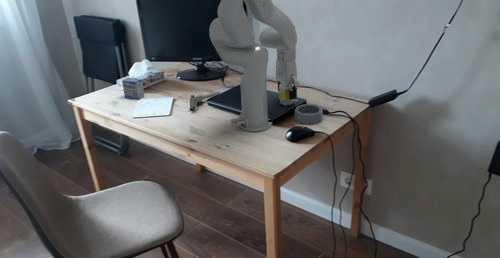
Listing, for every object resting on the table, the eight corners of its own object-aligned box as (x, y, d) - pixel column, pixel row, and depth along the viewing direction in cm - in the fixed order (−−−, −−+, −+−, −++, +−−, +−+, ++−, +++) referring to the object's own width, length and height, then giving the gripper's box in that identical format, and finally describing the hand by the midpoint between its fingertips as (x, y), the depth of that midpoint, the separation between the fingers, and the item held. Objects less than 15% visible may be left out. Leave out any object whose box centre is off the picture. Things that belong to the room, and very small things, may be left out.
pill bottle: (296, 101, 178) (296, 77, 173) (291, 107, 173) (291, 82, 168) (282, 100, 181) (282, 75, 176) (277, 105, 176) (276, 80, 171)
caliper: (192, 110, 177) (190, 96, 174) (190, 109, 177) (188, 96, 174) (222, 94, 191) (221, 80, 188) (220, 93, 192) (219, 80, 189)
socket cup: (304, 126, 157) (304, 117, 155) (290, 116, 165) (290, 107, 164) (327, 120, 161) (327, 111, 159) (312, 110, 169) (312, 102, 167)
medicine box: (124, 98, 192) (121, 80, 188) (130, 94, 195) (127, 77, 192) (139, 100, 189) (135, 82, 185) (144, 96, 193) (141, 78, 189)
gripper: (267, 51, 173) (269, 90, 181) (289, 62, 159) (289, 104, 167) (283, 48, 176) (284, 86, 184) (306, 59, 162) (306, 99, 170)
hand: (287, 94), depth 175 cm, fingers open, 9 cm apart
